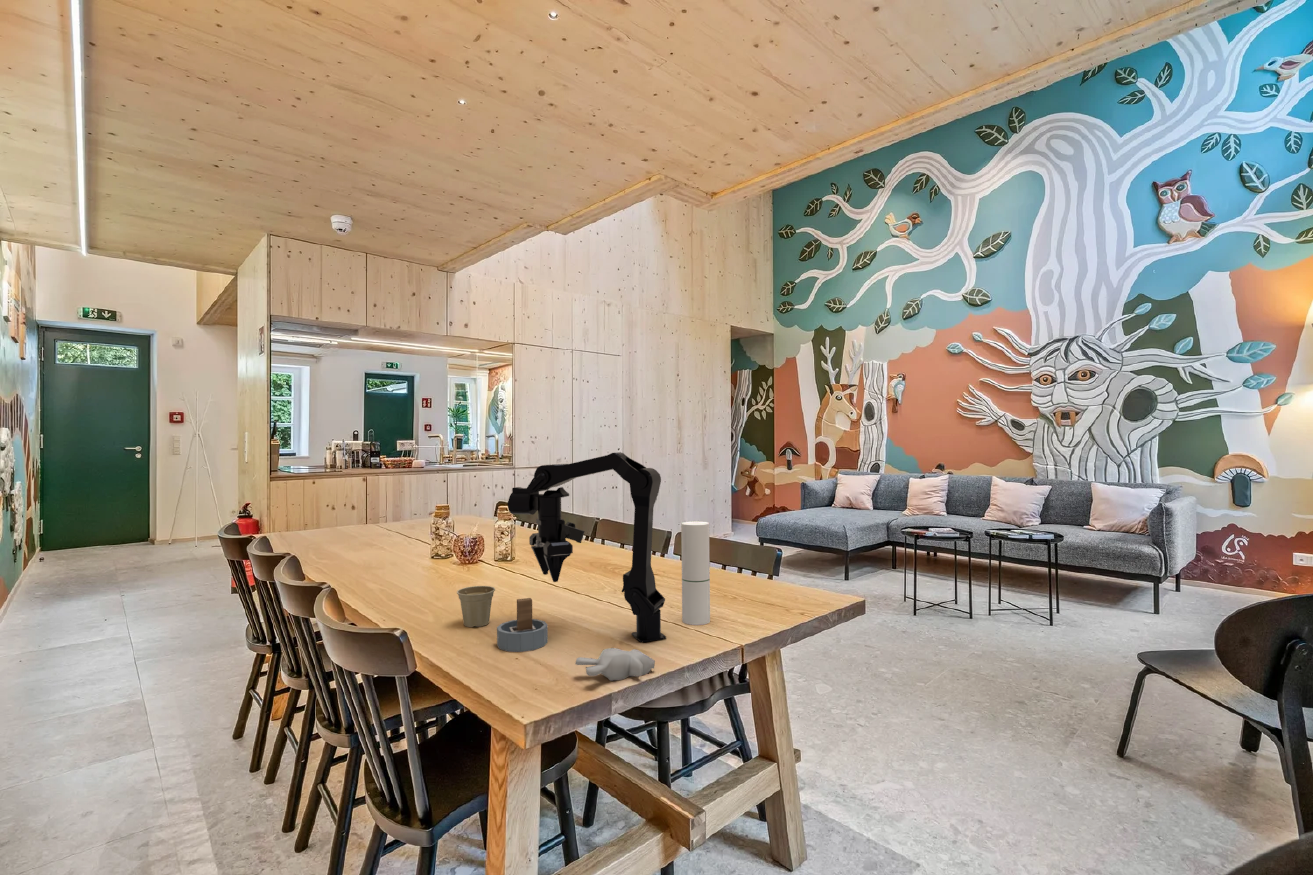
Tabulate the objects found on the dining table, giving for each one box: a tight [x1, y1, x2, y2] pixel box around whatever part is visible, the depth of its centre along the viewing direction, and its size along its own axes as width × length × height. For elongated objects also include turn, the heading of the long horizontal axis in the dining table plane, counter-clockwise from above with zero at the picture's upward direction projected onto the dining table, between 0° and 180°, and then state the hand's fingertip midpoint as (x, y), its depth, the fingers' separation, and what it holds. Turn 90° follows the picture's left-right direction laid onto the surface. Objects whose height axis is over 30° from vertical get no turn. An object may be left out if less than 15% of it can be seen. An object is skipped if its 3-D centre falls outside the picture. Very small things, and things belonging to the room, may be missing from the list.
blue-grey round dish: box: [496, 618, 549, 653], centre depth 140 cm, size 11×11×4 cm
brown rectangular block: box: [516, 597, 533, 631], centre depth 140 cm, size 2×3×9 cm, turn 112°
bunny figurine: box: [574, 647, 656, 682], centre depth 120 cm, size 10×5×15 cm
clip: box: [509, 624, 536, 633], centre depth 140 cm, size 4×5×2 cm
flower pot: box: [456, 585, 496, 628], centre depth 155 cm, size 9×9×9 cm
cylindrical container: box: [680, 520, 711, 626], centre depth 156 cm, size 7×7×25 cm
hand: (550, 578), depth 151 cm, fingers open, 9 cm apart
